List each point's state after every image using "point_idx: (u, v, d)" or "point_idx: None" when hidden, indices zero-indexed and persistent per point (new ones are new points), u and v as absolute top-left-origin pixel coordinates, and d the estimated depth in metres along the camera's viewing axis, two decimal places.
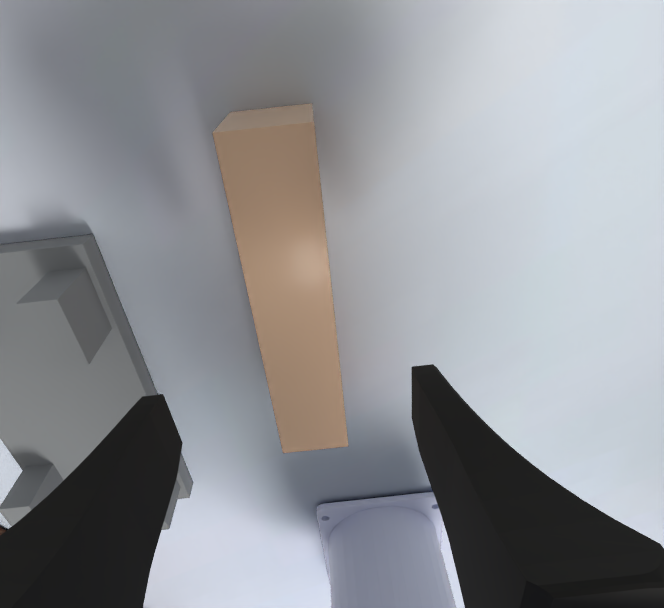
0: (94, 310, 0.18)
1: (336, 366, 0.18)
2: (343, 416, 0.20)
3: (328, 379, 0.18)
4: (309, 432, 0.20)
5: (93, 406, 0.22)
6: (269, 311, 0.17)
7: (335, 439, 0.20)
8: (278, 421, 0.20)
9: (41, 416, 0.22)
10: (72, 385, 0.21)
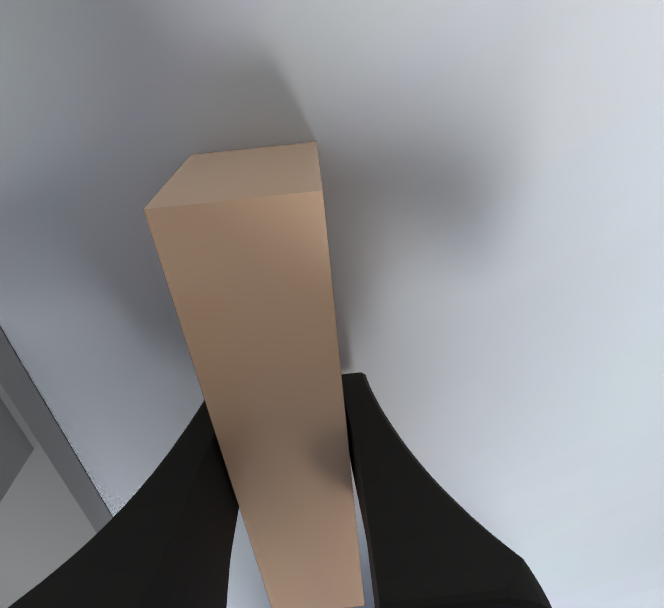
0: (0, 435, 0.13)
1: (352, 521, 0.12)
2: (358, 575, 0.14)
3: (338, 535, 0.13)
4: (310, 593, 0.14)
5: (19, 536, 0.16)
6: (250, 459, 0.11)
7: (346, 599, 0.15)
8: (267, 582, 0.14)
9: None
10: None
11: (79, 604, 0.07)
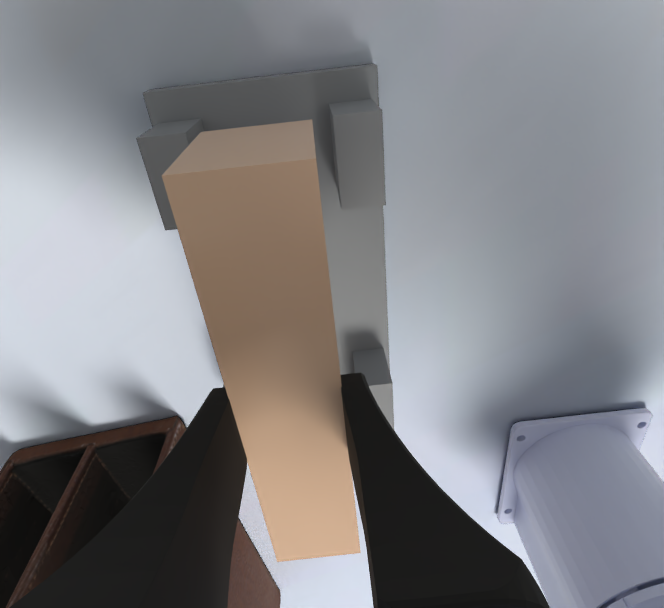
0: None
1: (347, 468, 0.14)
2: (354, 522, 0.15)
3: (335, 482, 0.14)
4: (310, 539, 0.16)
5: None
6: (255, 407, 0.12)
7: (344, 546, 0.16)
8: (270, 529, 0.15)
9: None
10: None
11: (81, 604, 0.07)
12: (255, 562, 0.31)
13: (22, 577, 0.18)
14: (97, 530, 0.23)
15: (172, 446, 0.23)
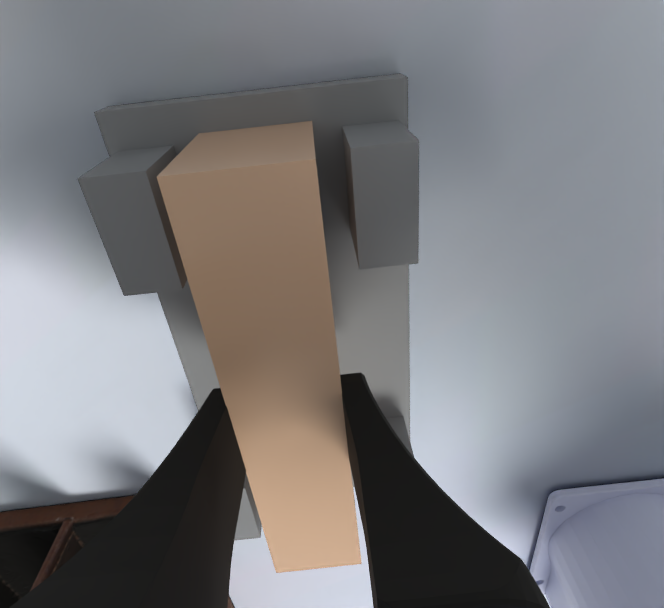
0: None
1: (347, 478, 0.13)
2: (355, 532, 0.15)
3: (335, 492, 0.14)
4: (310, 550, 0.15)
5: None
6: (253, 415, 0.12)
7: (344, 557, 0.16)
8: (269, 539, 0.15)
9: None
10: None
11: (81, 604, 0.07)
12: None
13: None
14: None
15: None
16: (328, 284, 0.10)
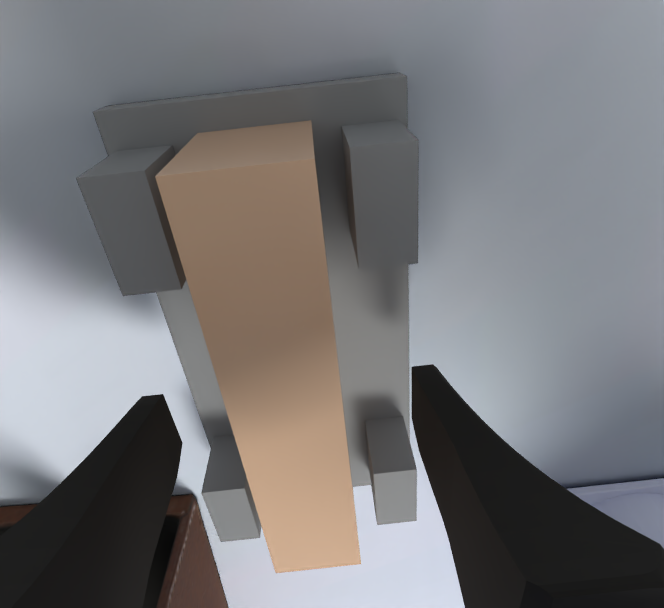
0: None
1: (347, 478, 0.13)
2: (355, 532, 0.15)
3: (334, 492, 0.14)
4: (310, 550, 0.15)
5: None
6: (252, 415, 0.12)
7: (344, 557, 0.16)
8: (269, 539, 0.15)
9: None
10: None
11: None
12: None
13: None
14: None
15: (187, 537, 0.20)
16: (327, 284, 0.10)
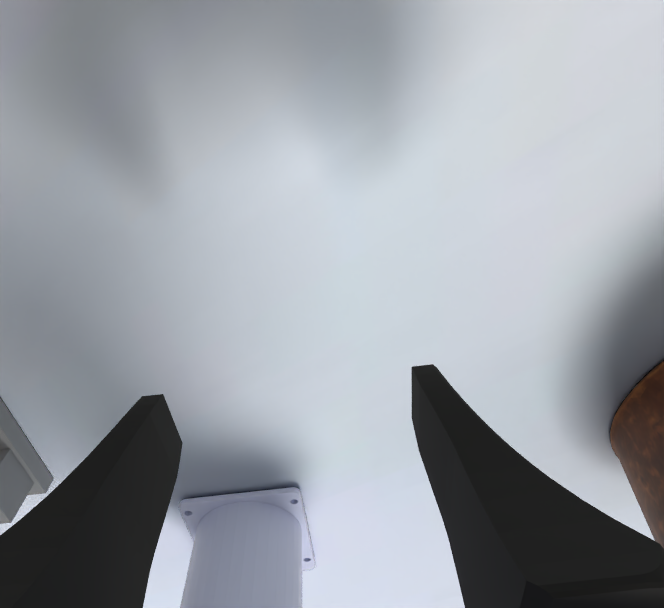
0: None
1: None
2: None
3: None
4: None
5: None
6: None
7: None
8: None
9: None
10: None
11: None
12: None
13: None
14: None
15: None
16: None
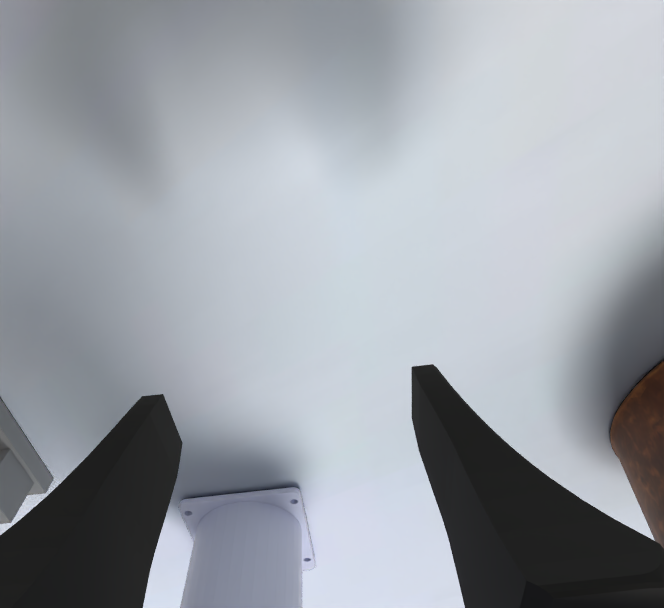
0: None
1: None
2: None
3: None
4: None
5: None
6: None
7: None
8: None
9: None
10: None
11: None
12: None
13: None
14: None
15: None
16: None
